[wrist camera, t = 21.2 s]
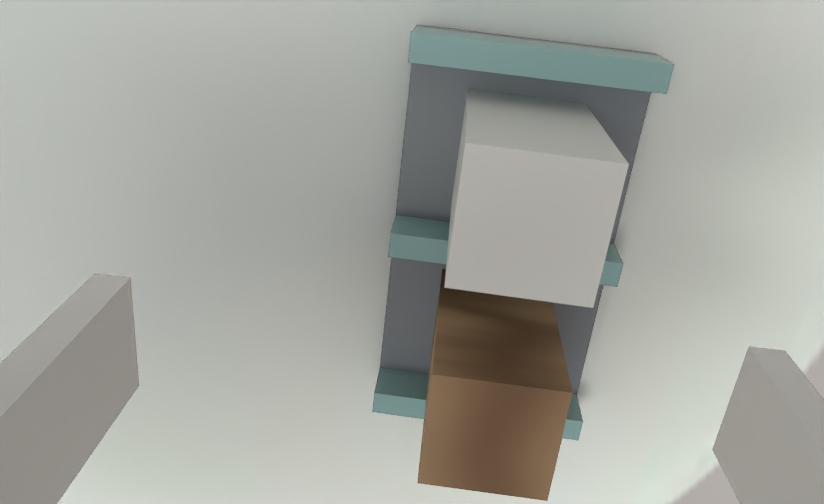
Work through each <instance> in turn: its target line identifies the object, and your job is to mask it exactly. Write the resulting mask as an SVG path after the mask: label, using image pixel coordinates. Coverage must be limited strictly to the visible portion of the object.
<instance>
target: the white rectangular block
mask: <svg viewBox="0 0 824 504" xmlns="http://www.w3.org/2000/svg"><path fill="white" fill-rule="evenodd" d="M628 166H629V164H628V162H627V161H626V159H625V158H624V157H623V155H622V154H621V152H620V151H619V150H618V148H617V147H616V145H615V144H614V143H613V141H612V140H611V138H610V137H609V136H608V134H607V133H606V131H605V130H604V129H603V127H602V126H601V124H600V123H599V122H598V120H597V119H596V117H595V116H594V115H593V113H592V112H591V110H590V109H589V108H588V106H587V105H586V104H583V103H575V102H568V101H560V100H552V99H544V98H536V97H529V96H521V95H513V94H505V93H498V92H490V91H482V90H474V89H468V90H467V97H466V104H465V111H464V118H463V125H462V132H461V139H460V146H459V153H458V160H457V167H456V174H455V181H454V188H453V194H452V203H451V215H450V226H449V238H448V250H447V262H446V274H445V285H444V288H451V289H458V290H466V291H473V292H480V293H488V294H495V295H502V296H509V297H517V298H524V299H531V300H539V301H546V302H553V303H561V304H568V305H575V306H583V307H590V308H593V307H594V303H595V299H596V295H597V291H598V287H599V283H600V279H601V274H602V270H603V266H604V262H605V258H606V254H607V250H608V246H609V242H610V238H611V234H612V230H613V226H614V222H615V218H616V214H617V210H618V206H619V202H620V198H621V194H622V190H623V186H624V182H625V178H626V174H627V170H628Z"/></svg>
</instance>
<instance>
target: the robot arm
mask: <svg viewBox="0 0 824 504" xmlns="http://www.w3.org/2000/svg"><path fill="white" fill-rule="evenodd" d="M138 386H139V379H138V366H137V354H136V341H135V329H134V316H133V303H132V291H131V278H128V277H119V276H110V275H101V274H94V275H93V276H92V277H91V278H90V279H89V280H88V281H86V282H85V283H84V284H83V285H82V286H81V287H80V288H79V289H78V290H77V291H76V292H75V293H74V294H73V295H72V296H71V297H70V298H69V299H68V300H66V301H65V302H64V303H63V304H62V305H61V306H60V307H59V308H58V309H57V310H56V311H55V312H54V313H53V314H52V315H51V316H50V317H49V318H48V319H47V320H45V321H44V322H43V323H42V324H41V325H40V326H39V327H38V328H37V329H36V330H35V331H34V332H33V333H32V334H31V335H30V336H29V337H28V338H27V339H25V340H24V341H23V342H22V343H21V344H20V345H19V346H18V347H17V348H16V349H15V350H14V351H13V352H12V353H11V354H10V355H9V356H8V357H7V358H5V359H4V360H3V361H2V362H1V363H0V504H57V503H58V501H59V500H60V499H61V497H62V496H63V494H64V493H65V491H66V490H67V488H68V487H69V486H70V484H71V483H72V481H73V480H74V478H75V477H76V475H77V474H78V473H79V471H80V470H81V468H82V467H83V465H84V464H85V462H86V461H87V460H88V458H89V457H90V455H91V454H92V452H93V451H94V449H95V448H96V447H97V445H98V444H99V442H100V441H101V439H102V438H103V436H104V435H105V434H106V432H107V431H108V429H109V428H110V426H111V425H112V423H113V422H114V421H115V419H116V418H117V416H118V415H119V413H120V412H121V411H122V409H123V408H124V406H125V405H126V403H127V402H128V400H129V399H130V398H131V396H132V395H133V393H134V392H135V390H136V389H137V387H138ZM712 450H713V452H714V454H715V456H716V458H717V459H718V461H719V463H720V465H721V467H722V469H723V471H724V473H725V475H726V477H727V479H728V481H729V483H730V485H731V487H732V489H733V491H734V493H735V495H736V497H737V499H738V501H739V503H740V504H824V398H823V397H822V396H821V395H820V394H819V392H818V391H817V390H816V388H815V387H814V386H813V385H812V384H811V383H810V381H809V380H808V379H807V377H806V376H805V375H804V374H803V372H802V371H801V370H800V369H799V367H798V366H797V365H796V364H795V362H794V361H793V360H792V359H791V357H790V356H789V355H788V354H787V352H786V351H783V350H774V349H765V348H756V347H749V348H748V350H747V353H746V356H745V359H744V362H743V365H742V367H741V370H740V373H739V376H738V379H737V382H736V384H735V387H734V390H733V393H732V396H731V399H730V401H729V404H728V407H727V410H726V413H725V415H724V418H723V421H722V424H721V427H720V430H719V432H718V435H717V438H716V441H715V444H714V447H713V449H712Z"/></svg>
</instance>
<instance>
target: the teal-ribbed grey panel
mask: <svg viewBox="0 0 824 504" xmlns="http://www.w3.org/2000/svg"><path fill="white" fill-rule="evenodd" d="M408 62H409V63H412V65H411V75H410V85H409V94H408V104H407V113H406V123H405V133H404V142H403V152H402V161H401V171H400V181H399V190H398V200H397V209H396V217H395V220H394V223H393V227H392V230H391V235H390V245H389V255H388V257H391V267H390V277H389V286H388V296H387V305H386V315H385V325H384V334H383V344H382V353H381V363H380V370H379V374H378V379H377V383H376V388H375V392H374V402H373V411H372V412H377V413H384V414H391V415H398V416H406V417H413V418H420V419H424V415H425V406H426V396H427V387H428V377H429V367H430V358H431V350H432V343H433V335H434V327H435V320H436V312H437V305H438V297H439V290H440V282H441V274H442V269H446V262H447V250H448V238H449V226H450V215H451V203H452V194H453V188H454V181H455V174H456V167H457V160H458V153H459V146H460V139H461V132H462V125H463V118H464V111H465V104H466V97H467V90H468V89H474V90H482V91H490V92H498V93H505V94H513V95H521V96H529V97H536V98H544V99H552V100H560V101H568V102H575V103H583V104H586V105H587V106H588V108H589V109H590V110H591V112H592V113H593V115H594V116H595V117H596V119H597V120H598V122H599V123H600V124H601V126H602V127H603V129H604V130H605V131H606V133H607V134H608V136H609V137H610V138H611V140H612V141H613V143H614V144H615V145H616V147H617V148H618V150H619V151H620V152H621V154H622V155H623V157H624V158H625V159H626V161H627V162H628V164H629V166H628V170H627V174H626V178H625V182H624V186H623V190H622V194H621V198H620V202H619V206H618V210H617V214H616V218H615V222H614V226H613V230H612V234H611V238H610V242H609V246H608V250H607V254H606V258H605V262H604V266H603V270H602V274H601V279H600V283H599V287H598V291H597V295H596V299H595V303H594V307H593V308H590V307H583V306H575V305H568V304H561V303H553V302H552V303H553V307H554V311H555V316H556V320H557V325H558V329H559V334H560V338H561V343H562V347H563V352H564V356H565V361H566V365H567V370H568V374H569V379H570V383H571V388H572V392H573V393H572V398H571V402H570V406H569V410H568V414H567V419H566V423H565V427H564V431H563V436H562V438H565V439H572V440H578V439H579V435H580V431H581V427H582V423H583V420H582V416H581V411H580V407H579V403H578V398H577V390H578V386H579V382H580V378H581V374H582V370H583V366H584V362H585V358H586V354H587V350H588V346H589V341H590V337H591V333H592V329H593V325H594V321H595V317H596V313H597V309H598V305H599V301H600V297H601V293H602V289H603V285H608V286H616V287H617V286H618V282H619V278H620V274H621V270H622V267H623V262H622V260H621V258H620V256H619V254H618V251H617V249H616V247H615V245H614V240H615V236H616V232H617V228H618V223H619V219H620V215H621V211H622V207H623V203H624V199H625V195H626V191H627V187H628V183H629V179H630V175H631V171H632V167H633V162H634V158H635V154H636V150H637V146H638V142H639V138H640V134H641V130H642V126H643V122H644V118H645V114H646V110H647V106H648V101H649V97H650V93H651V92H654V93H662V94H667V90H668V86H669V82H670V79H671V75H672V71H673V67H674V64H672V63H671V62H669V61H667V60H666V59H664V58H662V57H660V56H659V55H657V54H654V53H645V52H637V51H629V50H621V49H612V48H604V47H596V46H587V45H579V44H571V43H563V42H554V41H546V40H538V39H529V38H521V37H513V36H505V35H496V34H488V33H480V32H471V31H463V30H455V29H447V28H438V27H430V26H422V25H416V27H415V28H414V29H413V31H412V32H411V39H410V49H409V59H408Z"/></svg>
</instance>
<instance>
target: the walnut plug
mask: <svg viewBox="0 0 824 504" xmlns="http://www.w3.org/2000/svg"><path fill="white" fill-rule="evenodd" d="M445 274H446V269H442V274H441V282H440V290H439V297H438V305H437V312H436V320H435V327H434V335H433V343H432V350H431V358H430V367H429V377H428V387H427V396H426V406H425V415H424V425H423V435H422V444H421V454H420V464H419V473H418V483H421V484H429V485H436V486H443V487H451V488H458V489H465V490H473V491H480V492H487V493H494V494H502V495H509V496H516V497H524V498H531V499H538V500H546V501H547V499H548V495H549V491H550V486H551V482H552V478H553V474H554V470H555V465H556V461H557V457H558V453H559V448H560V444H561V440H562V436H563V431H564V427H565V423H566V419H567V414H568V410H569V406H570V402H571V398H572V393H573V392H572V388H571V383H570V379H569V374H568V370H567V365H566V361H565V356H564V352H563V347H562V343H561V338H560V334H559V329H558V325H557V320H556V316H555V311H554V307H553V303H552V302H546V301H539V300H531V299H524V298H517V297H509V296H502V295H495V294H488V293H480V292H473V291H466V290H458V289H451V288H444V285H445Z"/></svg>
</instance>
